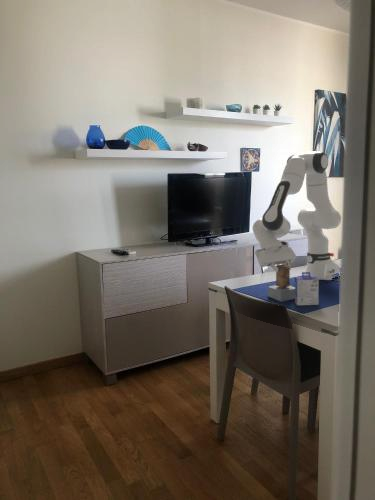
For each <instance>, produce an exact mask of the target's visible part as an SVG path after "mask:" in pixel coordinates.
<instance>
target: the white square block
mask: <svg viewBox="0 0 375 500" xmlns="http://www.w3.org/2000/svg"><path fill="white" fill-rule="evenodd" d="M267 297H269V298H271V299H273V300H275V301H278V302H281V303H282V302H287V301H291V300H295V286H292V285H290V286H289V287H283V288H281V287H279V286H276V284H275V285H270V286H268V287H267Z"/></svg>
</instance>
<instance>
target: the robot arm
mask: <svg viewBox="0 0 375 500" xmlns="http://www.w3.org/2000/svg"><path fill="white" fill-rule="evenodd" d="M328 166H329V157H328V155H327V154H326V152H324V151H306V152H301V153H293V154H291V155H290V156H289V157H288V158H287V160H286V164H285V166H284V169H283V172H282V175H281V177H280V181H279V183H278V184H277V186H276V188H275V190H274V193H273V196H272V198H271V201H270V203H269V205H268V207H267V209H266V210H265V211H264V213H263V215H262V216H261V217H262V218H259V219H257V220H256V221H254V223H253V225H252V231H253V232H252V233H253V234H254V237H255V239H256V241H257V242H258V243H259V247H260V249H256V250H255V251H254V254H255V257H256V259H257V261H258V265H259V266H260V267H261V268H265V267H270V268H271V269H273V270H274V272H275V274H276V273H277V272H279V271H280V269H279V268H277V267H276V265H283V264H284V265H288V266H290V263H291V264H293V263H294V262H295V261H296V260H297V255H296V253H295V252H294V250H293V249H292V247H291V246H289V245H290V244H289V242H288V241H283V240H280V238H282V237H284V236H286V235H287V234H288V233H290V230H291V223H290V221H289V220H288V219H287V218H286V217H285V216H284V213H283V208H284V206H285V203H286V201H287V197H288V196H289V195H290V196H291V195H296V194H297V193H299V192H300V191H301V190H302V187H303V184H304V181H305V187H306V189H305V190H306V199H307V200H308V201H309V202H310V203H311V204H312V205H313V208H312V207H309V208H304V209H300V211H299V212H298V214H297V221H298V224H299V225H300V226H301V227H302V228H303V230H304V231H305V234H306V239H307V253H306V267H305V268H306V269H305V272H310V276H311V277H317V278H318V279H319V280H322V281H324V280H325V281H331V280H333V279H332V278H333V277H332V275H334V274H336V273H339V276H340V272H341V271H340V269H341V268H340V265H339V264H338V263H337V262H336V261H334V260H333V259H332V258H331V257H334V256H335V253H334V252H329V238H328V236H326V235H325V234H324V233H323V231H322V230H323V229H324V230H333V229H336V228H338V227H339V226H340V224H341V222H342V215H341V213H340V212H339V211H338V210H337V209H336V208H335V207H334V206H333V204H332V202H331V200H330V197H329V191H328V190H329V188H328V177H327V172H326V171H327V170H326V169H327V168H328ZM290 270H291V266H290ZM304 275H309V274H304Z"/></svg>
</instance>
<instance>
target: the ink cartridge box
mask: <svg viewBox="0 0 375 500" xmlns="http://www.w3.org/2000/svg"><path fill="white" fill-rule="evenodd" d="M305 274H309V275H305ZM319 282H320V281H319V279H318V278H317V277H311V276H310V272H306V271H305V272H301V276H298V277H294V284H295V285H294V287H295V299H294V303H295V305H296V306H318V305H319V286H320V285H319V284H320V283H319Z"/></svg>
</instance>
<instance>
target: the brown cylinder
mask: <svg viewBox="0 0 375 500" xmlns="http://www.w3.org/2000/svg"><path fill="white" fill-rule="evenodd" d="M275 266H276V267H277V268H279V269H280V271H279V272H277V273H276V272H275V285H276V286H279V287H281V288H283V287H289V286H291V285H290V284H291V283H290V277H291V276H290V275H291V273H290V272H291V271H290V270H291V269H290V268H291V266H288V265H285V264H279V265H275Z"/></svg>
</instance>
